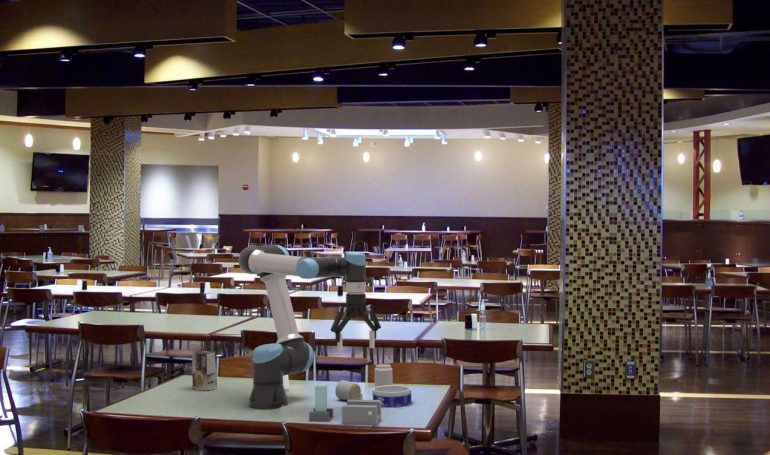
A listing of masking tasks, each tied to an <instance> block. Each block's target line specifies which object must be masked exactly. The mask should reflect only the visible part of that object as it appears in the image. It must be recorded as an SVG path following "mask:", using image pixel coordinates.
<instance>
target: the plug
mask: <svg viewBox="0 0 770 455" xmlns="http://www.w3.org/2000/svg"><path fill="white" fill-rule="evenodd" d="M314 406H315V407H314V408H315V411H316V412H326V410H327V408H328V384H327V383H325V384H324V383H323V384H321V383H317V384H316V385H315V386H314Z"/></svg>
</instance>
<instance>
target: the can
mask: <svg viewBox="0 0 770 455" xmlns="http://www.w3.org/2000/svg"><path fill="white" fill-rule="evenodd" d="M393 374H394V373H393V368H392V367H391V364H387V363H383V364H381V363H380V364H376V365H375V368H374V388H375V387H378V386H384V385H394V383H393V382H394V380H393V379H394V378H393Z"/></svg>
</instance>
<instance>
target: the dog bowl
mask: <svg viewBox="0 0 770 455" xmlns="http://www.w3.org/2000/svg"><path fill="white" fill-rule="evenodd" d="M372 400H381V408H401V407H407V406H409V405H411V404H412V387H410V386H407V385H402V384H401V385H400V384H393V385H384V386H378V387H375V386H374V387H373V388H372Z"/></svg>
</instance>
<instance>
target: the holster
mask: <svg viewBox="0 0 770 455" xmlns="http://www.w3.org/2000/svg"><path fill="white" fill-rule="evenodd" d="M308 414H309V415H308V416H309V417H308V420H307V422H309V423H310V422H311V423H312V422H313V423H314V422H317V423H318V422H319V423H322V422H323V423H330V422H331V421H332V420H333V419H334V418H335V417H336V415H334V408H333V407H327V410H326V412H316V411H315V407H313V411H309V413H308Z"/></svg>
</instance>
